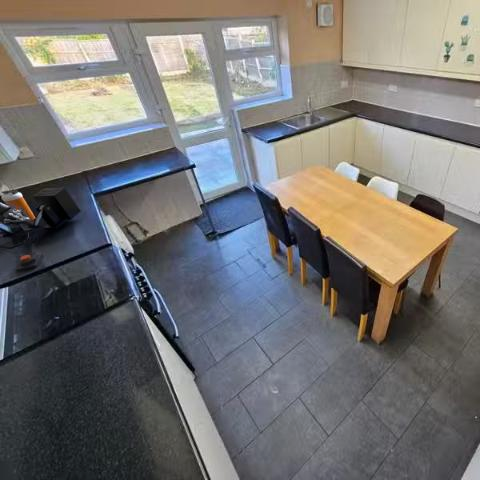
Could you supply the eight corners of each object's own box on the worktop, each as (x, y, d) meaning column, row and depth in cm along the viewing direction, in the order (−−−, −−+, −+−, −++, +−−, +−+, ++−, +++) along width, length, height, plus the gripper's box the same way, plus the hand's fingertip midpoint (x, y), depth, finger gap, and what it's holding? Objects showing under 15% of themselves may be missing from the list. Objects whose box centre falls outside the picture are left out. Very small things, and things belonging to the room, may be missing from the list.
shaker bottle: (25, 217, 180) (5, 189, 169) (40, 215, 181) (21, 188, 170) (15, 223, 172) (-6, 195, 161) (31, 222, 174) (11, 193, 162)
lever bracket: (56, 228, 169) (42, 210, 160) (43, 229, 168) (28, 210, 160) (67, 219, 176) (54, 201, 168) (54, 220, 176) (40, 202, 167)
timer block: (38, 268, 141) (32, 262, 139) (18, 272, 139) (13, 267, 136) (44, 256, 148) (39, 251, 146) (26, 260, 146) (20, 255, 143)
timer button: (30, 260, 141) (27, 258, 139) (21, 262, 139) (19, 260, 138) (32, 256, 143) (30, 253, 142) (24, 258, 142) (21, 255, 141)
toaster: (71, 219, 177) (53, 195, 165) (51, 220, 176) (31, 196, 165) (81, 211, 184) (64, 187, 173) (61, 212, 184) (43, 188, 172)
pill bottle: (36, 227, 170) (27, 214, 165) (25, 231, 166) (16, 218, 161) (33, 225, 172) (24, 213, 167) (22, 229, 169) (13, 216, 164)
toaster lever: (41, 228, 160) (37, 226, 158) (30, 229, 160) (26, 227, 157) (51, 207, 167) (47, 205, 165) (41, 208, 166) (37, 205, 164)
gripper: (-15, 210, 143) (25, 227, 151) (6, 197, 154) (43, 214, 162) (-17, 218, 146) (22, 235, 155) (3, 205, 157) (39, 222, 165)
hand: (33, 224), depth 158 cm, fingers closed
